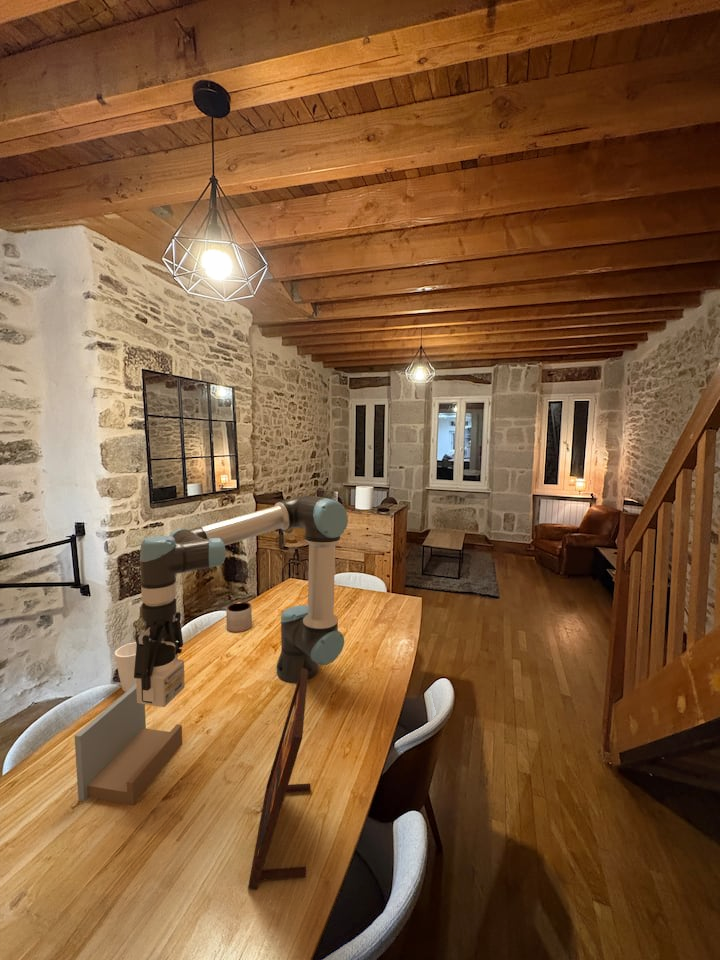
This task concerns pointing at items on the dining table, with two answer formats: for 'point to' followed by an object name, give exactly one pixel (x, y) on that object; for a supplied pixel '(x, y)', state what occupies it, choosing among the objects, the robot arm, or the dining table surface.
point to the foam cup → (126, 665)
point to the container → (164, 676)
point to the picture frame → (281, 788)
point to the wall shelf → (121, 752)
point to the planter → (239, 616)
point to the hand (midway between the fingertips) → (161, 688)
